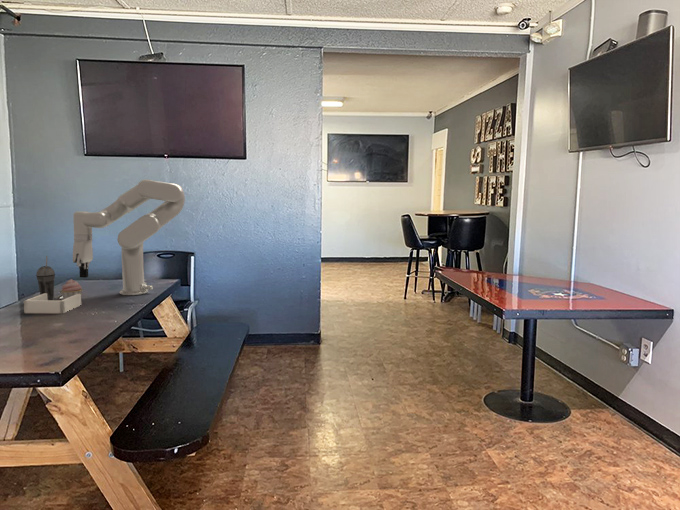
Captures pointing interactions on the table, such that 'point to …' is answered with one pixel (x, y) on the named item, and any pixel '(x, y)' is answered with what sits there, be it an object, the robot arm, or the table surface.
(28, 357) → the table surface
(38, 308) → the box
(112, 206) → the robot arm
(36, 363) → the table surface
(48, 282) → the beverage cup
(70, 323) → the table surface
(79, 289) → the cupcake
